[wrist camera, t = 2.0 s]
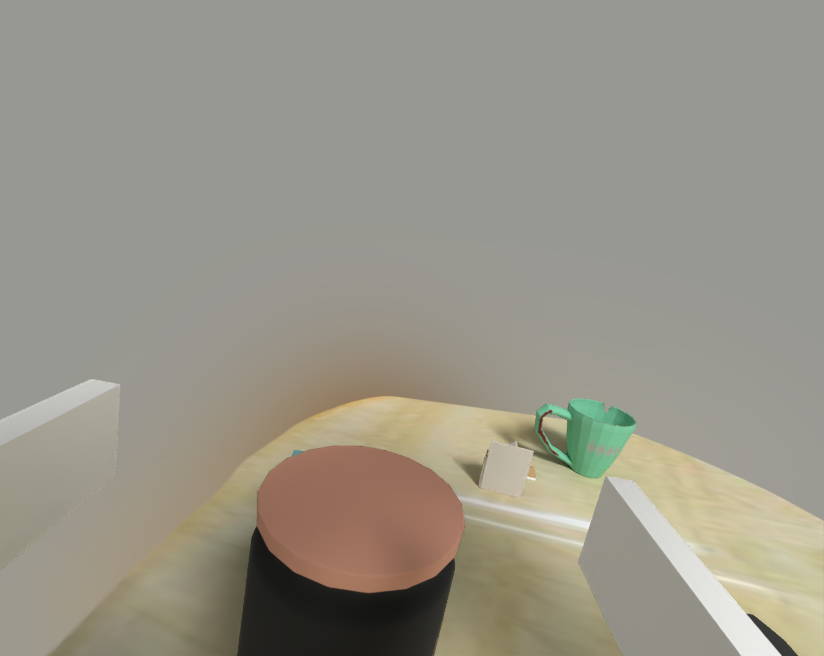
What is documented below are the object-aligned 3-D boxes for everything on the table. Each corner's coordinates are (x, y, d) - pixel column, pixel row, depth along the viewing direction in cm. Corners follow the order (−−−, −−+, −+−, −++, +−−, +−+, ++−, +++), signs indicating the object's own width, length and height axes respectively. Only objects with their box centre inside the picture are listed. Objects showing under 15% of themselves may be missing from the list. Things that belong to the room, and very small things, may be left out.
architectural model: (478, 477, 63) (490, 429, 61) (527, 490, 62) (540, 442, 60) (477, 490, 60) (489, 440, 58) (529, 504, 59) (543, 453, 57)
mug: (602, 459, 75) (618, 404, 73) (629, 492, 66) (649, 431, 64) (517, 444, 75) (531, 389, 73) (532, 475, 65) (549, 413, 63)
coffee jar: (282, 955, 20) (343, 622, 16) (192, 739, 27) (218, 472, 23) (439, 772, 27) (506, 518, 23) (337, 642, 34) (375, 430, 30)
